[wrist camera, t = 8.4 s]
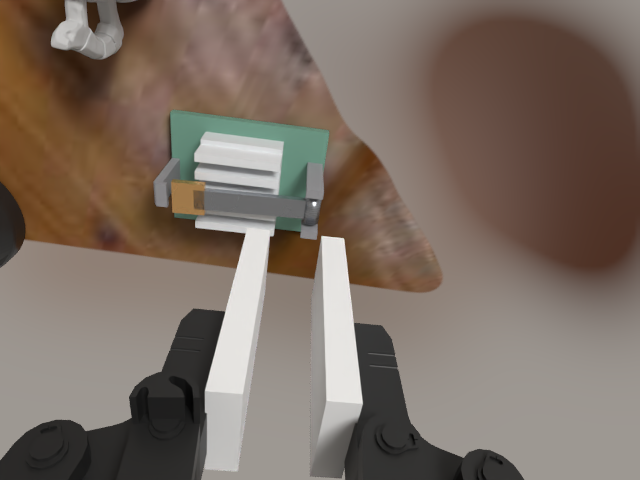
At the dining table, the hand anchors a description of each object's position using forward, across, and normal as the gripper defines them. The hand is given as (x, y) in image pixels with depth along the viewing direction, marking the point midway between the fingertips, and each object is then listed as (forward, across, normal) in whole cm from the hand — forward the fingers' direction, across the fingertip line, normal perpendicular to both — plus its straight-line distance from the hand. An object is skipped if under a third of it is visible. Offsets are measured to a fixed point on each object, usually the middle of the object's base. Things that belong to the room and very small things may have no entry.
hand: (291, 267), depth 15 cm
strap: (+26, -4, -11) cm, 29 cm away
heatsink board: (+32, -5, -11) cm, 35 cm away
